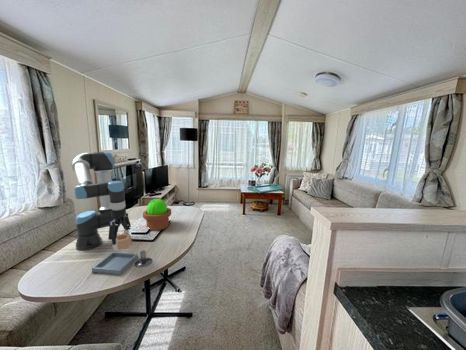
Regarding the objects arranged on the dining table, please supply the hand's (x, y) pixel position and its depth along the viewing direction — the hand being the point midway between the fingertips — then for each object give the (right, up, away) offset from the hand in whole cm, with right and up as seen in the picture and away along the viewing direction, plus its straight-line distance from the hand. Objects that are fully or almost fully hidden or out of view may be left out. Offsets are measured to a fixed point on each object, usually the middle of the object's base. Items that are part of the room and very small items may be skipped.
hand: (121, 244), depth 122 cm
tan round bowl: (0, -1, 0) cm, 1 cm away
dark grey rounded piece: (+12, -13, +3) cm, 18 cm away
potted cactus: (+2, -3, +55) cm, 55 cm away
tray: (-4, -13, +1) cm, 13 cm away
